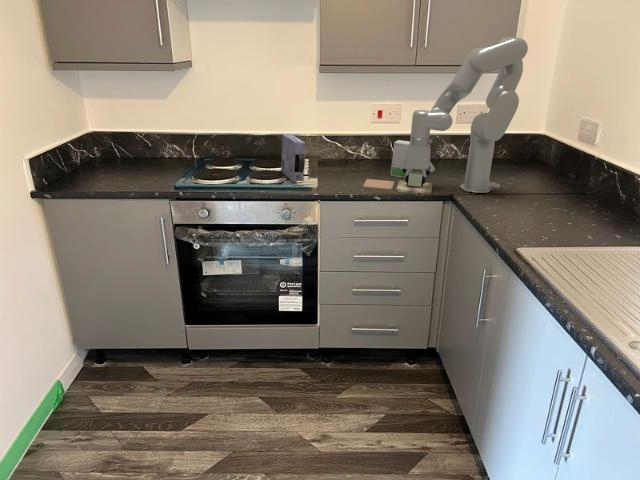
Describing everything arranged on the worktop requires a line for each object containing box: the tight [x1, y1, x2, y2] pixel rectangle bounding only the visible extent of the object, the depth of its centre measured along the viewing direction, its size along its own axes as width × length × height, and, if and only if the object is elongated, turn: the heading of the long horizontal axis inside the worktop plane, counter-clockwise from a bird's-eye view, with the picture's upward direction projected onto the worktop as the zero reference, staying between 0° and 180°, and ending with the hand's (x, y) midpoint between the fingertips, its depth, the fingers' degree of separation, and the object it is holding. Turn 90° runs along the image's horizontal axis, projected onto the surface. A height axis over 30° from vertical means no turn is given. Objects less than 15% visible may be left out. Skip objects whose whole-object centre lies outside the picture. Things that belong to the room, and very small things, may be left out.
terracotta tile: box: [362, 178, 395, 191], centre depth 211 cm, size 12×12×1 cm
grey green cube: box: [408, 170, 423, 187], centre depth 207 cm, size 5×5×5 cm
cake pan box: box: [280, 133, 306, 183], centre depth 215 cm, size 19×5×18 cm, turn 22°
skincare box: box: [390, 139, 413, 179], centre depth 224 cm, size 8×7×16 cm
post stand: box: [395, 180, 433, 196], centre depth 207 cm, size 14×14×6 cm
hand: (414, 184), depth 208 cm, fingers closed on grey green cube, 5 cm apart
